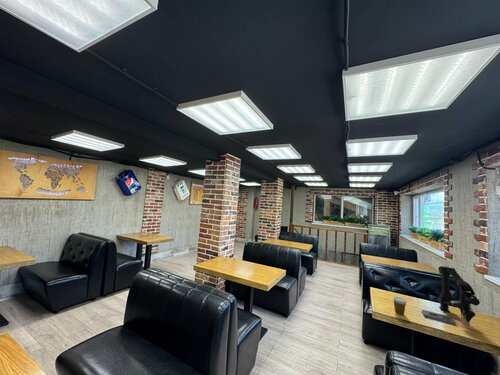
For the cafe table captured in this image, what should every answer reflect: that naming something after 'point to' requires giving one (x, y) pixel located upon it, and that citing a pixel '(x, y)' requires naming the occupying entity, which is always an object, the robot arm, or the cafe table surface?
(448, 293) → the robot arm
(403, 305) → the disposable coffee cup
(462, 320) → the brass block
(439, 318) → the rail plate
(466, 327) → the mat
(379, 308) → the cafe table surface
